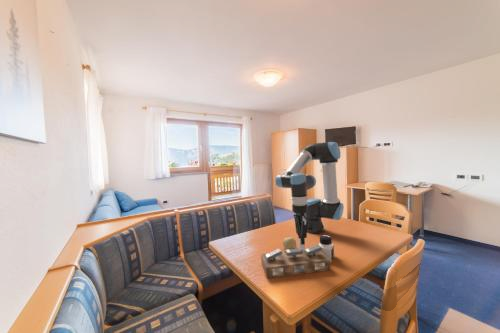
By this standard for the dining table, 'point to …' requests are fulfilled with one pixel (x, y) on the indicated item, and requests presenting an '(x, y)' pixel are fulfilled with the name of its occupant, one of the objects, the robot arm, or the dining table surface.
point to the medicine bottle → (327, 246)
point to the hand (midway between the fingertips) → (302, 249)
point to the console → (295, 264)
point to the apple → (289, 243)
